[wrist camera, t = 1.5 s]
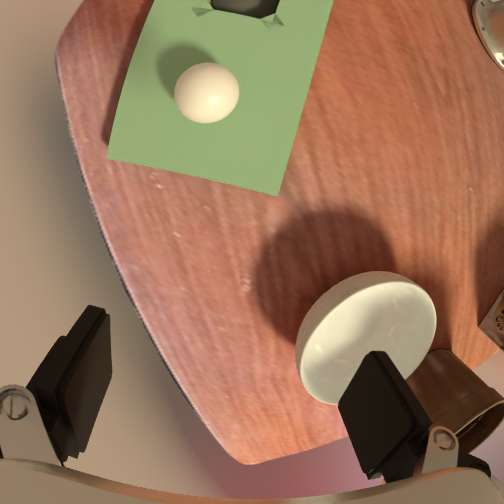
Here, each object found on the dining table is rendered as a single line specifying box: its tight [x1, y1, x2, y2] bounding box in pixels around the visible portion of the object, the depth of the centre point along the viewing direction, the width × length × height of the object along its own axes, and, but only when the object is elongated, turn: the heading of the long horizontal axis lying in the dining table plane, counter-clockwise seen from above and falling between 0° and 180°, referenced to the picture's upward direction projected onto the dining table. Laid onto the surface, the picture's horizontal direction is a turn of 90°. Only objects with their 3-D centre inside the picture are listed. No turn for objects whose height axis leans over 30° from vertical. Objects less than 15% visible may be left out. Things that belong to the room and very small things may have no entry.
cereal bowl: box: [295, 271, 436, 405], centre depth 31 cm, size 17×17×7 cm
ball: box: [174, 62, 239, 123], centre depth 20 cm, size 5×5×5 cm
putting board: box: [106, 0, 333, 197], centre depth 22 cm, size 24×16×2 cm, turn 165°
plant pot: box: [405, 349, 504, 454], centre depth 33 cm, size 16×16×16 cm
